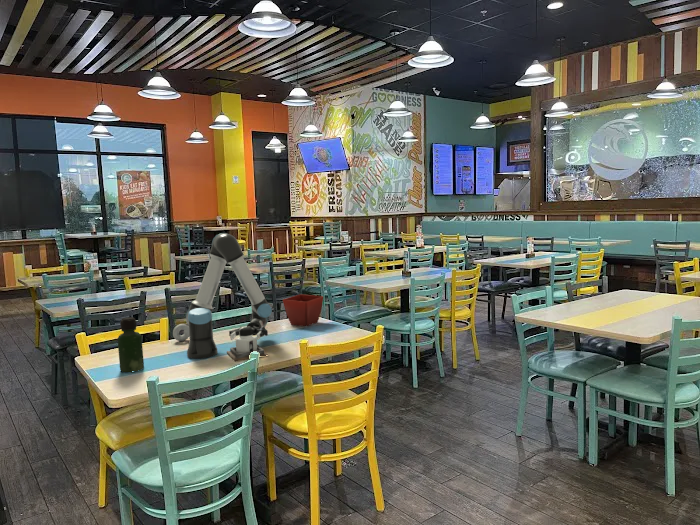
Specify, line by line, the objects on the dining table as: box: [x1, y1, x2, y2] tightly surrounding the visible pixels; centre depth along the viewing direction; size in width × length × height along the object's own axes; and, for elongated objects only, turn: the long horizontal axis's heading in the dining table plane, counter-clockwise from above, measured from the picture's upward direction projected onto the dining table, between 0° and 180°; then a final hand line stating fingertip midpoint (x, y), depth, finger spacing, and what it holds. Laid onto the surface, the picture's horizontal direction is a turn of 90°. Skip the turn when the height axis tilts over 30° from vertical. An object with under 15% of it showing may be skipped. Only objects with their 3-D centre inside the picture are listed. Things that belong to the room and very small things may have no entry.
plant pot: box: [282, 294, 324, 327], centre depth 324 cm, size 19×19×17 cm
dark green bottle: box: [117, 316, 145, 373], centre depth 241 cm, size 10×10×25 cm
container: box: [235, 326, 258, 353], centre depth 260 cm, size 8×8×13 cm
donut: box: [172, 323, 190, 342], centre depth 292 cm, size 10×4×10 cm, turn 126°
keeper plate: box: [226, 344, 269, 362], centre depth 260 cm, size 17×17×3 cm
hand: (244, 337), depth 256 cm, fingers open, 13 cm apart
